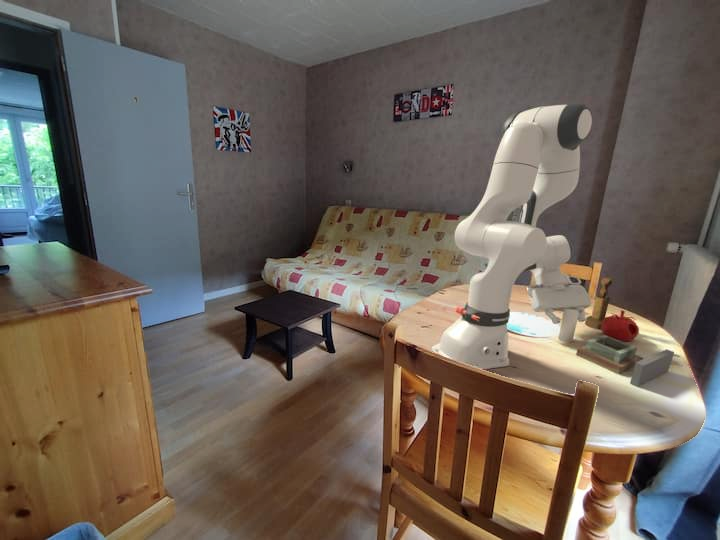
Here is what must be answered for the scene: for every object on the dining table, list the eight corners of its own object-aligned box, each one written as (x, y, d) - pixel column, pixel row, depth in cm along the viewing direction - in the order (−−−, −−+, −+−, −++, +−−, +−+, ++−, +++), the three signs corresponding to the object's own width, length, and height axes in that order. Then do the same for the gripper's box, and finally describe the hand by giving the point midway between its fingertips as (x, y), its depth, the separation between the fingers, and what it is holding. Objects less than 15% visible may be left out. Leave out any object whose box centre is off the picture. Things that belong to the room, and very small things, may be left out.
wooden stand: (586, 327, 113) (597, 279, 108) (583, 320, 119) (593, 274, 114) (609, 331, 110) (621, 281, 106) (605, 324, 116) (616, 277, 111)
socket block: (618, 374, 85) (622, 357, 84) (576, 354, 94) (579, 339, 93) (641, 364, 90) (646, 348, 89) (599, 346, 100) (602, 332, 98)
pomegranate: (597, 338, 106) (602, 312, 103) (600, 328, 113) (605, 303, 111) (636, 347, 100) (642, 319, 97) (636, 336, 107) (642, 310, 105)
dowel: (567, 343, 101) (574, 314, 99) (555, 337, 105) (561, 309, 102) (575, 340, 103) (581, 312, 100) (563, 335, 106) (568, 307, 104)
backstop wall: (637, 386, 80) (643, 365, 78) (629, 383, 81) (635, 362, 79) (668, 371, 86) (674, 352, 85) (660, 368, 88) (666, 349, 86)
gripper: (530, 280, 104) (548, 320, 97) (583, 278, 108) (604, 316, 101) (519, 289, 109) (535, 327, 103) (570, 286, 113) (588, 323, 107)
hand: (570, 322), depth 102 cm, fingers open, 8 cm apart
